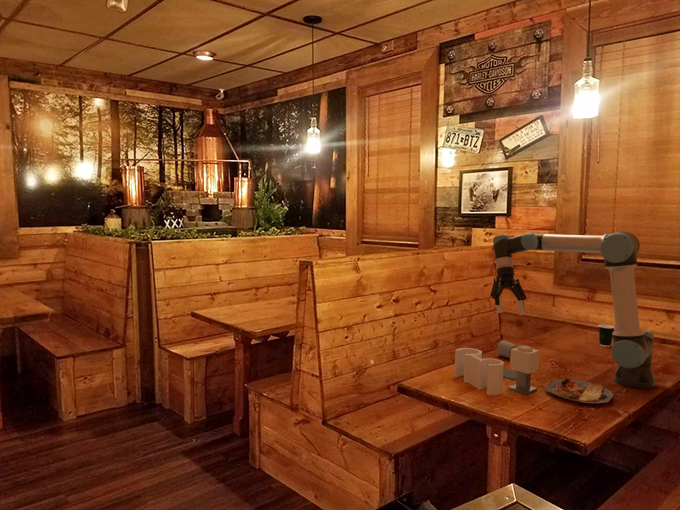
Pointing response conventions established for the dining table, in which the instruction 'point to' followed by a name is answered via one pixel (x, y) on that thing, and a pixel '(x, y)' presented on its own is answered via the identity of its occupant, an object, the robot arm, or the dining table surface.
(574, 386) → the food plate
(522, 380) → the post
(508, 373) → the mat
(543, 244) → the robot arm
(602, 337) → the dixie cup
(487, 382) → the bracket
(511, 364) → the beige block piece
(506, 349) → the ceramic mug
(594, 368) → the dining table surface
